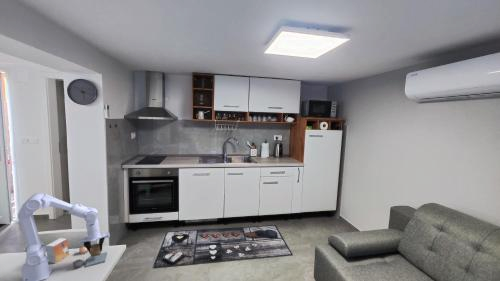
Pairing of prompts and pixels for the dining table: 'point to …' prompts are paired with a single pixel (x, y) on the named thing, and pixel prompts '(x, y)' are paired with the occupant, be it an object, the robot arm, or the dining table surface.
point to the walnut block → (95, 250)
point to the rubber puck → (77, 264)
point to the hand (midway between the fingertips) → (96, 251)
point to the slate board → (96, 259)
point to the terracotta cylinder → (83, 250)
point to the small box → (57, 250)
